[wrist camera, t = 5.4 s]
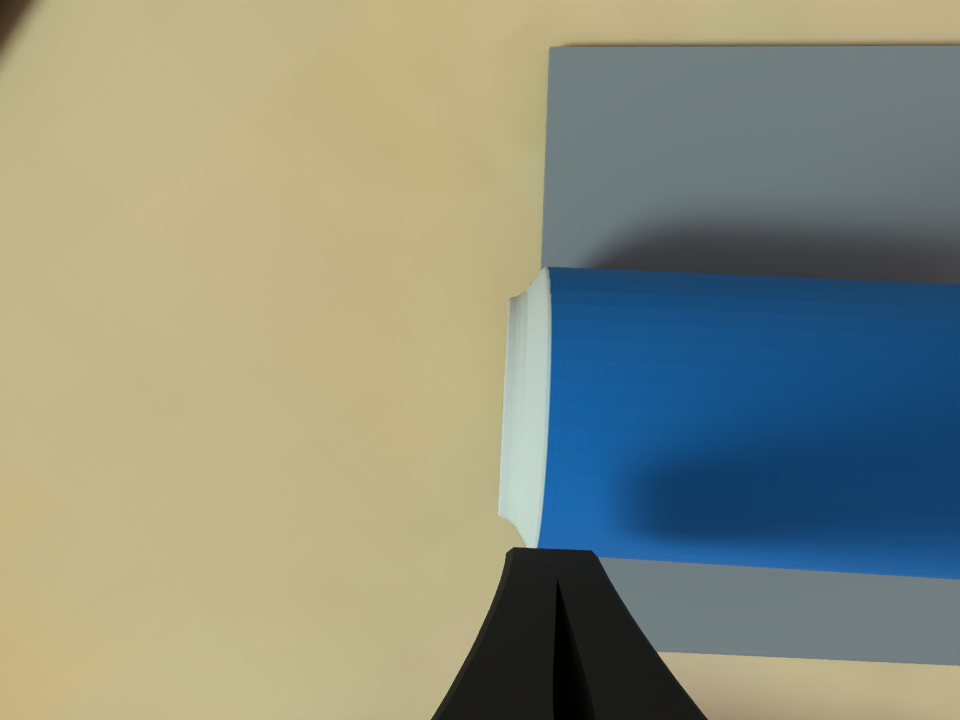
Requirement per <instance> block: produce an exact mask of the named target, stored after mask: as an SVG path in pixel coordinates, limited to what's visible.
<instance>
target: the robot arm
mask: <svg viewBox="0 0 960 720" xmlns="http://www.w3.org/2000/svg"><path fill="white" fill-rule="evenodd" d="M431 720H708V719H707V718H706V717H705V715H704V714H703V713H702V712H701V710H700V709H699V708H698V707H697V705H696V704H695V703H694V702H693V700H692V699H691V698H690V696H689V695H688V694H687V693H686V691H685V690H684V689H683V687H682V686H681V685H680V684H679V682H678V681H677V680H676V678H675V677H674V676H673V674H672V673H671V672H670V670H669V669H668V667H667V666H666V665H665V663H664V662H663V661H662V659H661V658H660V656H659V655H658V653H657V652H656V651H655V649H654V648H653V646H652V645H651V643H650V642H649V640H648V639H647V638H646V636H645V635H644V633H643V632H642V630H641V629H640V627H639V626H638V624H637V623H636V621H635V620H634V618H633V617H632V615H631V614H630V612H629V610H628V609H627V607H626V606H625V604H624V602H623V601H622V599H621V598H620V596H619V594H618V593H617V591H616V589H615V588H614V586H613V584H612V582H611V581H610V579H609V577H608V575H607V573H606V572H605V570H604V568H603V566H602V564H601V562H600V560H599V558H598V557H597V556H596V554H595V553H594V552H593V551H592V550H571V549H545V548H518V547H513V548H512V549H511V550H510V551H508V552H507V553H506V559H505V565H504V569H503V573H502V576H501V580H500V583H499V586H498V589H497V591H496V594H495V596H494V599H493V602H492V604H491V607H490V609H489V611H488V614H487V616H486V618H485V620H484V623H483V625H482V627H481V629H480V631H479V634H478V636H477V638H476V640H475V642H474V644H473V646H472V648H471V650H470V652H469V654H468V656H467V658H466V660H465V661H464V663H463V665H462V667H461V669H460V671H459V672H458V674H457V676H456V678H455V680H454V682H453V683H452V685H451V687H450V689H449V691H448V693H447V694H446V696H445V698H444V699H443V701H442V703H441V704H440V706H439V708H438V709H437V711H436V713H435V714H434V716H433V717H432V719H431Z"/></svg>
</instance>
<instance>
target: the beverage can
mask: <svg viewBox="0 0 960 720" xmlns="http://www.w3.org/2000/svg"><path fill="white" fill-rule="evenodd" d="M498 515H499V516H500V517H502V518H505V519H507V520H509V521H510V522H511V523H512V524H513V525H515V526H516V528H517V530H518V531H519V533H520V535H521V537H522V538H523V540H524V542H525V544H526V546H527V547H528V548H545V549H571V550H592V551H593V552H594V553H595V554H596V556H597V557H603V558H619V559H635V560H651V561H667V562H683V563H699V564H715V565H731V566H747V567H764V568H780V569H796V570H812V571H828V572H844V573H860V574H876V575H892V576H908V577H924V578H940V579H956V580H960V284H941V283H918V282H895V281H871V280H848V279H825V278H801V277H778V276H755V275H731V274H708V273H685V272H661V271H638V270H615V269H591V268H568V267H544V268H543V269H542V270H541V271H540V273H539V274H538V275H537V277H536V278H535V280H534V281H533V282H532V284H531V285H530V287H529V288H528V289H527V291H525V292H524V293H522V294H521V295H519V296H516V297H512V298H510V299H509V303H508V321H507V341H506V361H505V381H504V401H503V421H502V442H501V462H500V483H499V504H498Z"/></svg>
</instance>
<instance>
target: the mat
mask: <svg viewBox="0 0 960 720" xmlns="http://www.w3.org/2000/svg"><path fill="white" fill-rule="evenodd" d="M544 267H568V268H591V269H615V270H638V271H661V272H685V273H708V274H731V275H755V276H778V277H801V278H825V279H848V280H871V281H895V282H918V283H941V284H960V46H689V47H550V49H549V70H548V96H547V123H546V150H545V176H544V203H543V229H542V256H541V270H542V269H543V268H544ZM598 558H599V560H600V562H601V564H602V566H603V568H604V570H605V572H606V573H607V575H608V577H609V579H610V581H611V582H612V584H613V586H614V588H615V589H616V591H617V593H618V594H619V596H620V598H621V599H622V601H623V602H624V604H625V606H626V607H627V609H628V610H629V612H630V614H631V615H632V617H633V618H634V620H635V621H636V623H637V624H638V626H639V627H640V629H641V630H642V632H643V633H644V635H645V636H646V638H647V639H648V640H649V642H650V643H651V645H652V646H653V648H654V649H655V651H659V652H680V653H701V654H723V655H744V656H765V657H786V658H808V659H829V660H850V661H871V662H893V663H914V664H935V665H957V666H960V580H956V579H940V578H924V577H908V576H892V575H876V574H860V573H844V572H828V571H812V570H796V569H780V568H764V567H747V566H731V565H715V564H699V563H683V562H667V561H651V560H635V559H619V558H603V557H598Z"/></svg>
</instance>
